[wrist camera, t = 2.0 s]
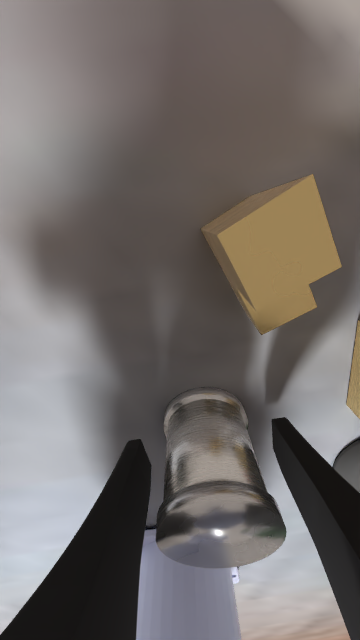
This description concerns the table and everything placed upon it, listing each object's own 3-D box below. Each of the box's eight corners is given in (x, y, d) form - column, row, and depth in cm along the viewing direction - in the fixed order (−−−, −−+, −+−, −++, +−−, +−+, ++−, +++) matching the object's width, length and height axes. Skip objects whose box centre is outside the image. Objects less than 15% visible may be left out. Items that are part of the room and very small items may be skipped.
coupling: (247, 439, 13) (286, 561, 8) (173, 450, 13) (171, 573, 9) (241, 380, 11) (285, 494, 6) (155, 394, 11) (139, 512, 7)
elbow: (289, 289, 9) (363, 336, 5) (245, 313, 10) (286, 370, 6) (249, 196, 8) (312, 174, 4) (200, 228, 8) (217, 234, 4)
